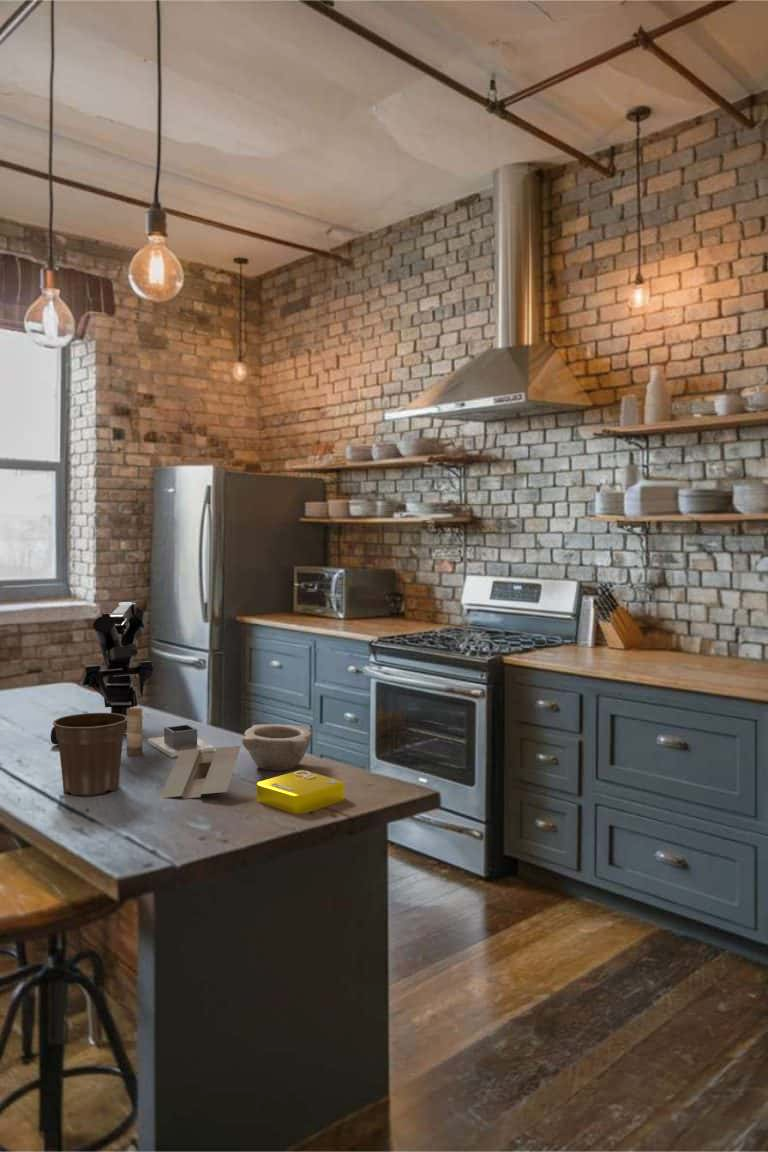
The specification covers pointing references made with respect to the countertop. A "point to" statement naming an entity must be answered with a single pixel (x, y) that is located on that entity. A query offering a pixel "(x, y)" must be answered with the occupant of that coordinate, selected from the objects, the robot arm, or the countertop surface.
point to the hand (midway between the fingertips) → (124, 697)
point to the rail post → (134, 731)
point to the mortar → (277, 745)
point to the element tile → (300, 791)
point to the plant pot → (90, 751)
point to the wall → (201, 773)
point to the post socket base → (179, 741)
